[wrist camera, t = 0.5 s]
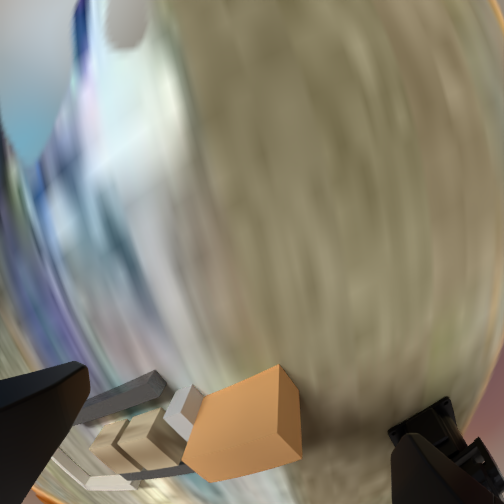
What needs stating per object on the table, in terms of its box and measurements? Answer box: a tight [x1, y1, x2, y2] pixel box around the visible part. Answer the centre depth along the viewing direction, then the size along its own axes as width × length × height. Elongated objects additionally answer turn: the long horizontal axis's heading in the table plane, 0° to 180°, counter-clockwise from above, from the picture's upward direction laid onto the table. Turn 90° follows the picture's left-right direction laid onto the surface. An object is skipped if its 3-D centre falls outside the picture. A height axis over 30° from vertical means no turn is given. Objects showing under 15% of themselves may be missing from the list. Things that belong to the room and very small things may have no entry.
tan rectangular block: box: [163, 364, 302, 483], centre depth 18 cm, size 6×9×7 cm
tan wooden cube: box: [89, 419, 143, 474], centre depth 23 cm, size 4×4×4 cm
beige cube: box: [117, 408, 187, 470], centre depth 22 cm, size 4×4×4 cm
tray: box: [51, 447, 141, 491], centre depth 26 cm, size 14×12×2 cm
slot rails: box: [72, 370, 195, 481], centre depth 23 cm, size 11×15×2 cm
